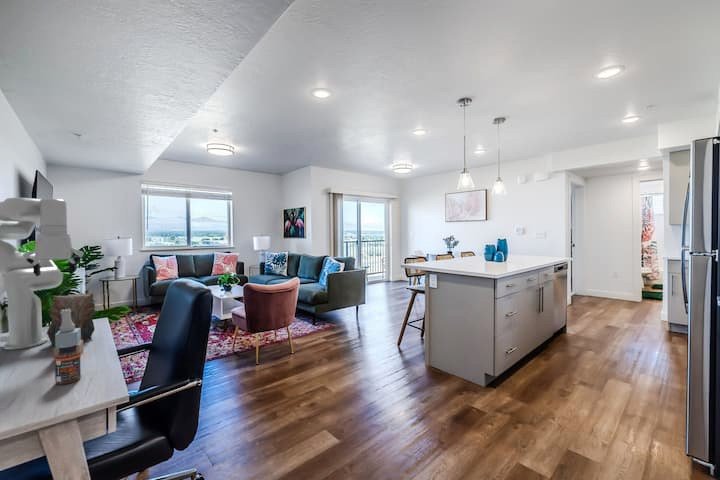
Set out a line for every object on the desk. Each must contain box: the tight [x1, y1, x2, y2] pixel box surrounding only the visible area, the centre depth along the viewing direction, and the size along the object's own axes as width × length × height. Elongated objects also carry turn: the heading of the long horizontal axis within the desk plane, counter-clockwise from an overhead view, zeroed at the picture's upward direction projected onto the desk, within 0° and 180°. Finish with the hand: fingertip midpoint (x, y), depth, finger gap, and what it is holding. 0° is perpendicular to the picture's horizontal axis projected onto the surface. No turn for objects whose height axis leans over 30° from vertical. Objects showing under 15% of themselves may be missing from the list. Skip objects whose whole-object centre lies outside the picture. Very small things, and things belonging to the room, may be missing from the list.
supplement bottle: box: [54, 343, 82, 386], centre depth 99 cm, size 6×6×11 cm
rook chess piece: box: [60, 308, 76, 332], centre depth 118 cm, size 4×4×8 cm
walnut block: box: [53, 340, 84, 364], centre depth 119 cm, size 7×7×5 cm
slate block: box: [55, 328, 81, 348], centre depth 118 cm, size 6×6×5 cm
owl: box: [46, 292, 96, 347], centre depth 136 cm, size 13×13×20 cm
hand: (55, 274), depth 124 cm, fingers open, 9 cm apart
